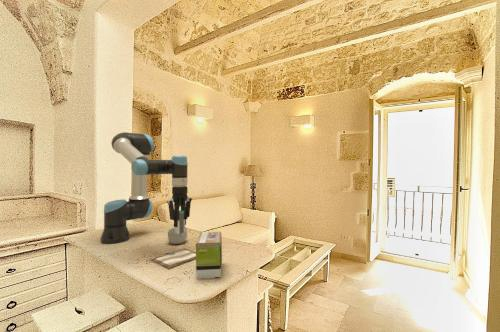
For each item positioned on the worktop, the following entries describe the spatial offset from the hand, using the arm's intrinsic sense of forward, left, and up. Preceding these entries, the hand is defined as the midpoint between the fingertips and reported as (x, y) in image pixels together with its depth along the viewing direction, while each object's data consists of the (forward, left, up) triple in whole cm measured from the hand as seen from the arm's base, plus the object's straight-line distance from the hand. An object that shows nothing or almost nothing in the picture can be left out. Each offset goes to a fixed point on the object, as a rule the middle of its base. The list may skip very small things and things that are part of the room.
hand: (180, 232), depth 120 cm
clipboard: (+4, -4, -11) cm, 12 cm away
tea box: (+26, -3, -11) cm, 28 cm away
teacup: (-17, +11, -11) cm, 23 cm away
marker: (0, 0, -1) cm, 1 cm away
